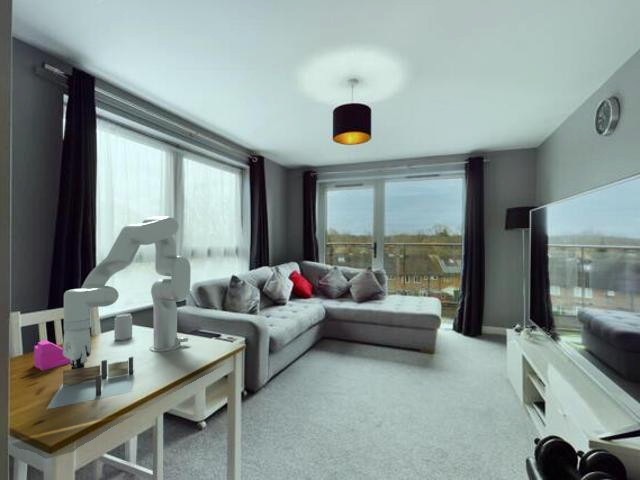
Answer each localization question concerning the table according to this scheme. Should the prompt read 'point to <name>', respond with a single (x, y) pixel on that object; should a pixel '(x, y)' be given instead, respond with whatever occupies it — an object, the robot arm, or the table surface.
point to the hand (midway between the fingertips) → (77, 376)
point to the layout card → (91, 390)
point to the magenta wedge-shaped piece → (49, 356)
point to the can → (123, 326)
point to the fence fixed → (113, 371)
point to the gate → (80, 375)
